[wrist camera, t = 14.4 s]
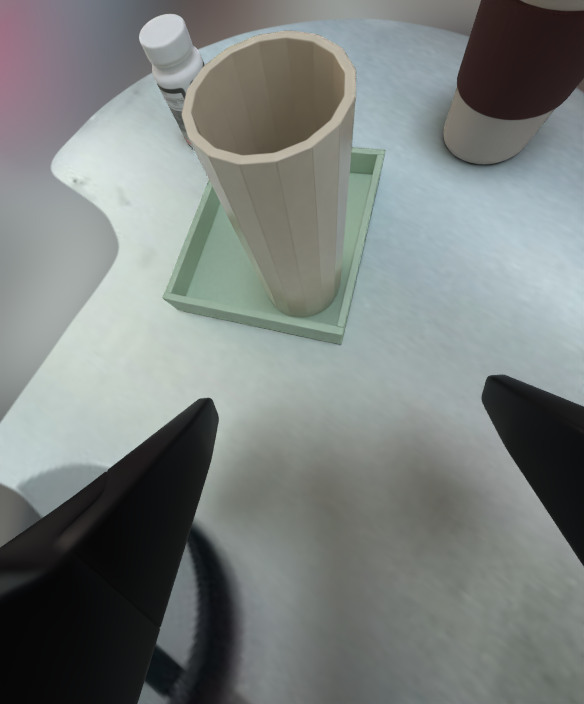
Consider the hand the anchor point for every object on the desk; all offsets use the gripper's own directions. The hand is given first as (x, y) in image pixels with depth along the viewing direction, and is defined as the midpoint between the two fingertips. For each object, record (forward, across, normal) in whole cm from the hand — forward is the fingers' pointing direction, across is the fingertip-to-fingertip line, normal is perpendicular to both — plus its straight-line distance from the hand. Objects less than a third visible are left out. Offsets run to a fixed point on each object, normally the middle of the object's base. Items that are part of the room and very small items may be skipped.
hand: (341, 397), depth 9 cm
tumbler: (+16, +2, 0) cm, 16 cm away
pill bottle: (+31, +11, -13) cm, 35 cm away
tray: (+20, +3, -3) cm, 20 cm away
